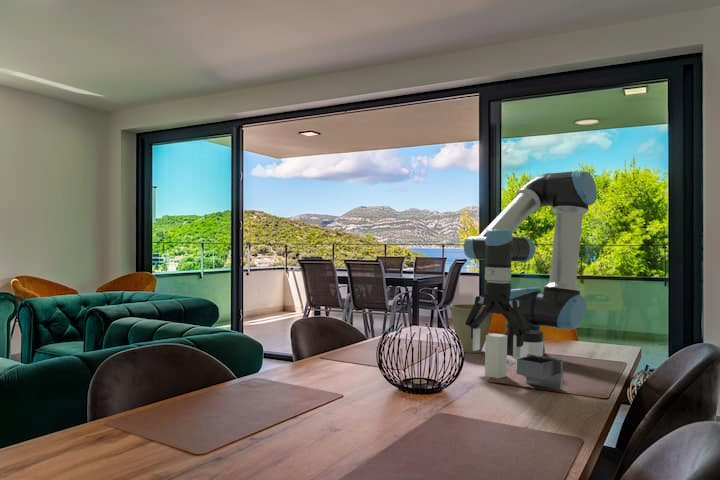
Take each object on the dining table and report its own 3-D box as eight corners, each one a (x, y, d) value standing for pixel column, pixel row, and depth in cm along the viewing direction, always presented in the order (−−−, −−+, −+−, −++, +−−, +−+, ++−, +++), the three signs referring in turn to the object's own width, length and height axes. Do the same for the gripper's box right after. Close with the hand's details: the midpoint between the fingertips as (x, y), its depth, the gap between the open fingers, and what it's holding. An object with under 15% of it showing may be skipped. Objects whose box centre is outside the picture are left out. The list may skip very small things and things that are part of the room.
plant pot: (447, 353, 191) (448, 307, 191) (452, 345, 205) (453, 303, 205) (491, 357, 187) (492, 310, 187) (493, 348, 201) (494, 305, 201)
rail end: (493, 373, 165) (494, 333, 165) (506, 376, 161) (507, 335, 161) (484, 375, 161) (485, 334, 161) (498, 378, 158) (499, 337, 158)
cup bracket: (528, 382, 155) (529, 353, 155) (562, 389, 148) (563, 360, 148) (512, 387, 149) (512, 358, 149) (546, 395, 142) (547, 365, 142)
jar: (549, 371, 168) (550, 332, 168) (534, 375, 163) (534, 335, 163) (524, 365, 175) (524, 328, 175) (508, 369, 170) (509, 330, 170)
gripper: (455, 279, 168) (453, 348, 168) (530, 285, 150) (528, 363, 150) (469, 278, 173) (467, 345, 173) (543, 284, 155) (541, 359, 155)
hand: (495, 353), depth 161 cm, fingers open, 13 cm apart
